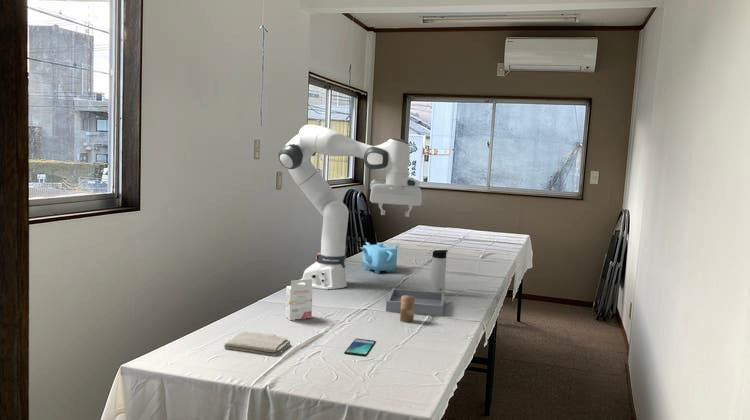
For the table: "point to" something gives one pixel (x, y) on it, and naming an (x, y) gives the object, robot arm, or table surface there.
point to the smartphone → (360, 347)
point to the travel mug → (438, 271)
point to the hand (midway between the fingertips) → (394, 215)
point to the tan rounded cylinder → (407, 308)
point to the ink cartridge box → (299, 300)
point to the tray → (417, 301)
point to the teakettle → (379, 257)
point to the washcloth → (258, 343)
